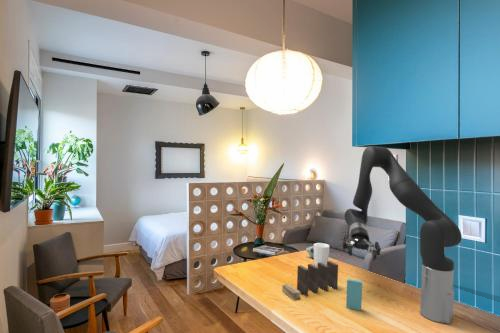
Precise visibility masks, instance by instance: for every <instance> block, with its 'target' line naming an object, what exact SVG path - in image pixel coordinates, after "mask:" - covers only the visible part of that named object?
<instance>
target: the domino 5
mask: <svg viewBox="0 0 500 333" xmlns="http://www.w3.org/2000/svg"><path fill="white" fill-rule="evenodd" d="M346 281H347V282H346V299H345V300H346V304H345V308H346V309H350V310H357V311H360V312H361V311H362V302H363V300H362V299H363V297H362V296H363V280H357V279H352V278H347V279H346Z"/></svg>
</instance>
